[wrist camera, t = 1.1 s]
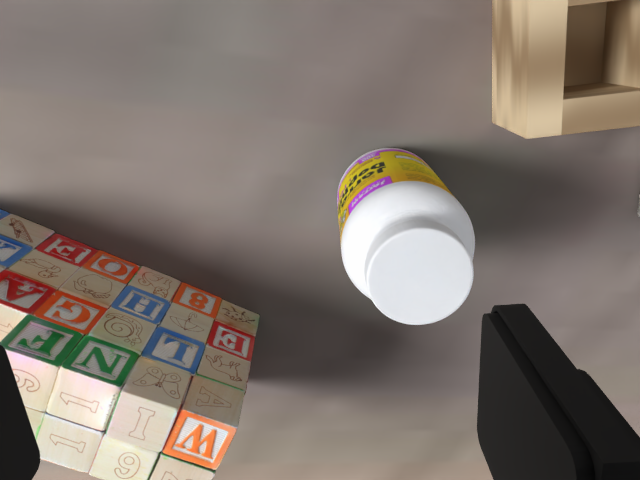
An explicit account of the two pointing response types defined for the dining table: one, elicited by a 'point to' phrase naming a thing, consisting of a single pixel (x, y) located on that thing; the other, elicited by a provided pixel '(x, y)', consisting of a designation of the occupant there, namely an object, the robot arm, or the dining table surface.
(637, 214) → the tray
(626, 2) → the oak block
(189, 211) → the dining table surface
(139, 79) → the dining table surface
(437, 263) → the supplement bottle
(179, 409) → the stack of blocks
